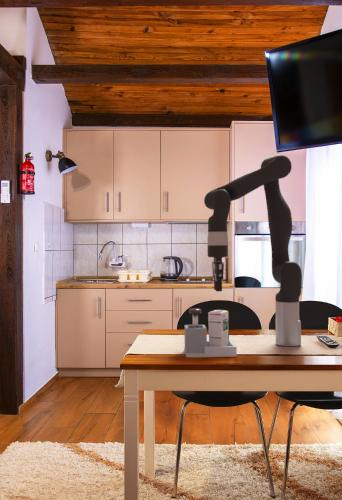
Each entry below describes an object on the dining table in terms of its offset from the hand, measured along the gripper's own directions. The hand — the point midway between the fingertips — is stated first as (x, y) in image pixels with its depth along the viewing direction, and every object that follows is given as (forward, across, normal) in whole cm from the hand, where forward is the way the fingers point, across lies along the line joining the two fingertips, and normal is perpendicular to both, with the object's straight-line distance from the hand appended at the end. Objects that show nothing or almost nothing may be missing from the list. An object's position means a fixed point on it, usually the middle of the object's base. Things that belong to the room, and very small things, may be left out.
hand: (218, 290), depth 175 cm
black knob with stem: (+15, 0, +8) cm, 17 cm away
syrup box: (+22, 0, 0) cm, 22 cm away
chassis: (+23, 0, +3) cm, 23 cm away
